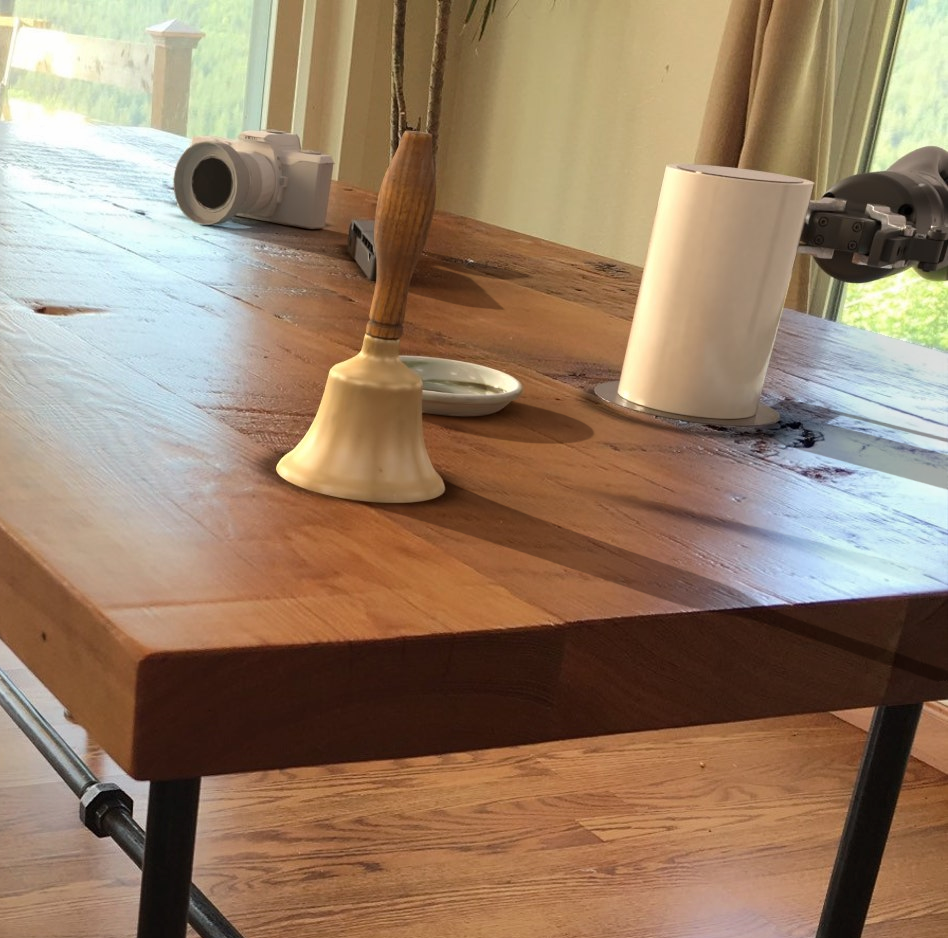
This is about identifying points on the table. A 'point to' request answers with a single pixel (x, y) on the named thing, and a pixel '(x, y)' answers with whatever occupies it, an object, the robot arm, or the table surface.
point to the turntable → (611, 395)
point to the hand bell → (379, 364)
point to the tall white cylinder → (713, 289)
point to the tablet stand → (363, 246)
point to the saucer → (462, 387)
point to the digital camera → (253, 180)
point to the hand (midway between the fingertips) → (811, 239)
